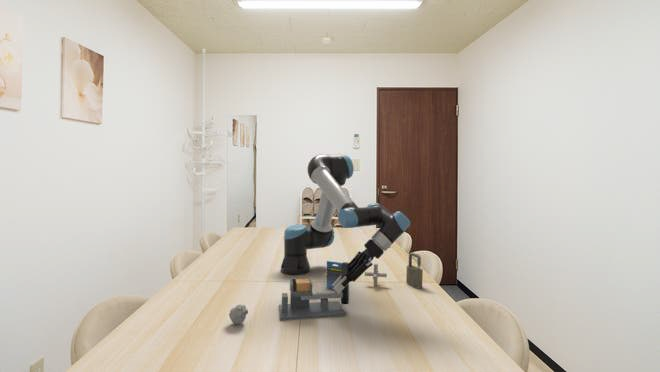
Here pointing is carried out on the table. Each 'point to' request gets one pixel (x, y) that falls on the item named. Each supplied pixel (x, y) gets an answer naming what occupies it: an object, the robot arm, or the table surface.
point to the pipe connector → (375, 274)
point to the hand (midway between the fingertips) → (335, 289)
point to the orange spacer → (302, 285)
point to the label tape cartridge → (333, 273)
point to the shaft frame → (307, 305)
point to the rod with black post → (333, 294)
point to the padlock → (414, 272)
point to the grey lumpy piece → (238, 314)
